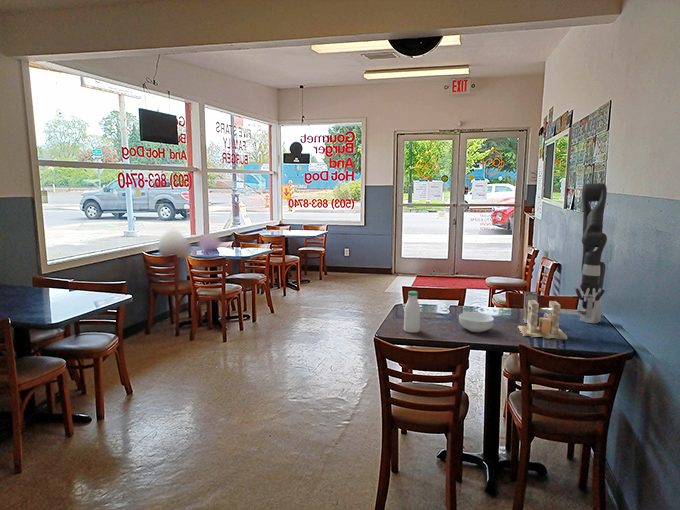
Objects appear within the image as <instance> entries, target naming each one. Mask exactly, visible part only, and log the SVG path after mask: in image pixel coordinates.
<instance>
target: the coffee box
mask: <svg viewBox="0 0 680 510" xmlns="http://www.w3.org/2000/svg"><path fill="white" fill-rule="evenodd" d="M523 296H524V299H523V314H522V321H523V320H524V321H523V322H524V324H525V323H527V314H528V301H529V300H535V301H536V302H537V303H538V304H539V305H540V301H541V300H540V299H541V295H540V293H538V291H524V295H523ZM539 310H540V307H539V308H538V315H539V313H540V311H539ZM538 322H539V320H538V321H537V324H538V325H539V323H538Z"/></svg>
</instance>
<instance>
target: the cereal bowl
mask: <svg viewBox="0 0 680 510" xmlns="http://www.w3.org/2000/svg"><path fill="white" fill-rule="evenodd" d="M494 320H495V318H494V317H493V316H491V315H489V314H486V313H483V312H475V311H473V312H472V311H467V312H462V313H459V314H458V322H459V324H460V326H462V327H463V328H464V329H466V330H468V331H469V332H471V333H482V332H485V331H488V330H490V329H491V328H492V327H493V325H494Z"/></svg>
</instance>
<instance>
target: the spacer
mask: <svg viewBox="0 0 680 510" xmlns="http://www.w3.org/2000/svg"><path fill="white" fill-rule="evenodd" d="M538 322H539V323H538V327H539V330H540V331H541V332H542V333H550V331H551V320H550V319H549V318H548V317H539V318H538Z"/></svg>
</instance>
